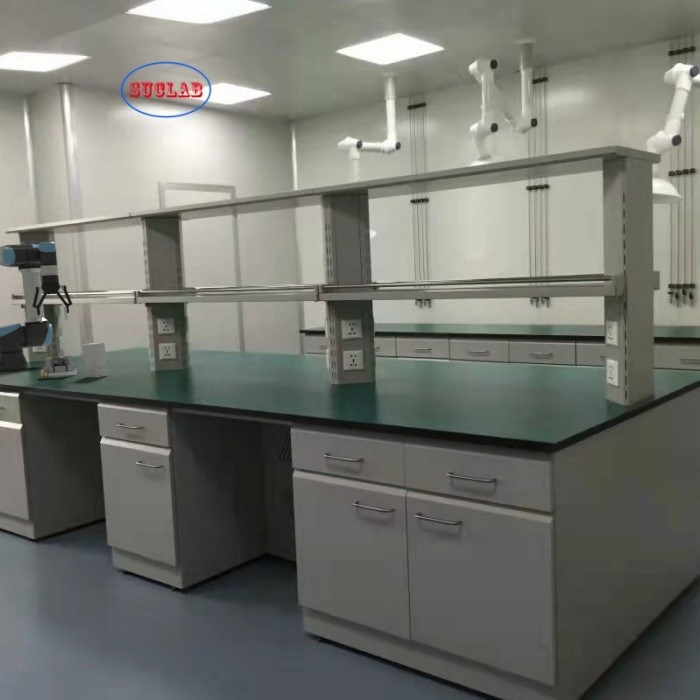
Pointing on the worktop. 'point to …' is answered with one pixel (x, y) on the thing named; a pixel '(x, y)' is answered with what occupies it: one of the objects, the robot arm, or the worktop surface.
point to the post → (42, 374)
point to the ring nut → (52, 368)
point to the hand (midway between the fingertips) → (54, 321)
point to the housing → (60, 362)
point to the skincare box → (95, 360)
